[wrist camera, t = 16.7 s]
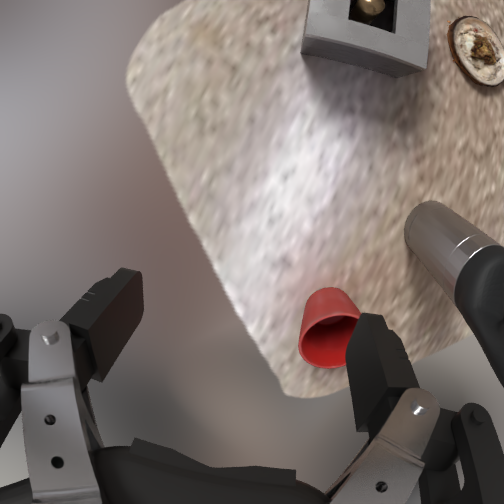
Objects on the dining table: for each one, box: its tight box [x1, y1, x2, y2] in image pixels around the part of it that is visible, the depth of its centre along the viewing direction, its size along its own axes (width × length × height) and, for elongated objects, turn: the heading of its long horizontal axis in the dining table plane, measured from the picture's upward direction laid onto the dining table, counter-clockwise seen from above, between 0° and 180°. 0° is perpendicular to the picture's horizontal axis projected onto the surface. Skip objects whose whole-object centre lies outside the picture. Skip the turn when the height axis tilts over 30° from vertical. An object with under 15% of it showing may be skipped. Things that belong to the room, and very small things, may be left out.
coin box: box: [300, 0, 430, 78], centre depth 26 cm, size 14×14×10 cm
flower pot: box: [298, 287, 361, 369], centre depth 45 cm, size 11×11×10 cm
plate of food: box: [447, 16, 504, 87], centre depth 27 cm, size 15×15×4 cm
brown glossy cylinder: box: [348, 0, 385, 25], centre depth 27 cm, size 3×3×9 cm
